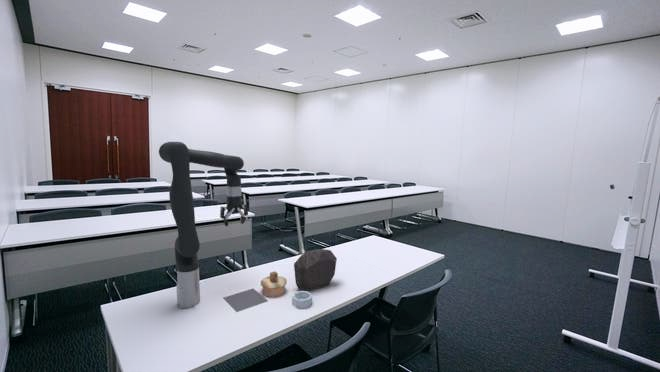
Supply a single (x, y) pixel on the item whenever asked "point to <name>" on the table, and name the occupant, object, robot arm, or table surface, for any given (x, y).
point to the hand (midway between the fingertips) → (234, 224)
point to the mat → (245, 300)
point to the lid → (273, 281)
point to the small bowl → (302, 299)
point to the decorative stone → (314, 269)
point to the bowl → (273, 291)
